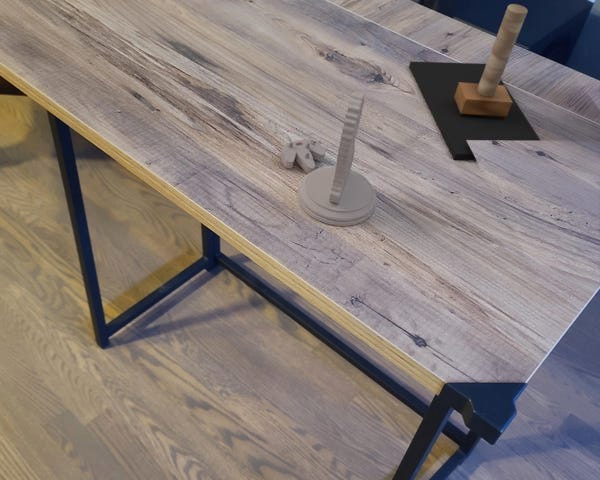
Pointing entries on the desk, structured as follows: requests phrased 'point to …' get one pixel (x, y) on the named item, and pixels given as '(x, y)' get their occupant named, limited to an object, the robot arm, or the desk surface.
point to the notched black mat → (454, 128)
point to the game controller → (302, 153)
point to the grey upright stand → (340, 181)
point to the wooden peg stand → (492, 73)
